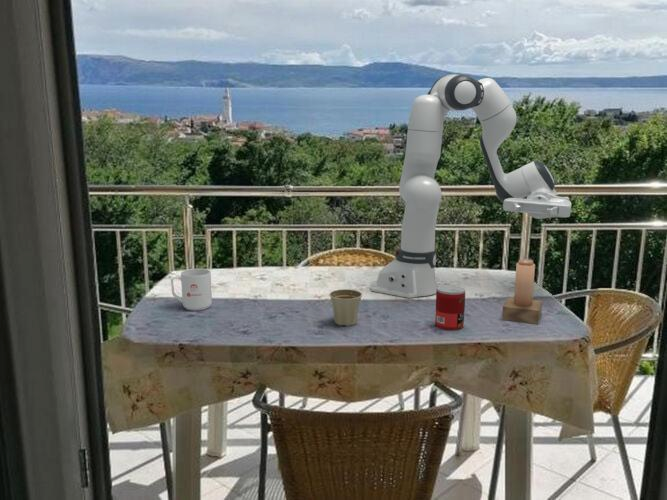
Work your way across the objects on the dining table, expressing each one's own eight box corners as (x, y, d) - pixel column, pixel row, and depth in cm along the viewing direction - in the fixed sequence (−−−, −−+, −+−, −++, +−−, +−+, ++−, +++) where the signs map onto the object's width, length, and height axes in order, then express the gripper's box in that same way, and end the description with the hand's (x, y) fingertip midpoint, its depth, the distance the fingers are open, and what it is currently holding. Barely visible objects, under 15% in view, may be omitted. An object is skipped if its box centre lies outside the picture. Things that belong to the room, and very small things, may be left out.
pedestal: (502, 319, 187) (502, 306, 186) (507, 309, 196) (507, 297, 195) (537, 324, 183) (538, 310, 183) (541, 313, 192) (542, 300, 192)
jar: (512, 305, 188) (515, 261, 185) (514, 300, 192) (517, 257, 189) (531, 307, 186) (534, 263, 183) (533, 302, 190) (536, 259, 187)
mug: (213, 302, 204) (211, 268, 201) (210, 311, 195) (209, 275, 193) (174, 303, 203) (172, 269, 200) (170, 312, 194) (168, 276, 191)
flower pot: (351, 330, 178) (351, 300, 176) (323, 324, 183) (322, 295, 181) (368, 321, 186) (368, 292, 184) (340, 315, 191) (340, 287, 189)
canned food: (463, 331, 178) (465, 293, 175) (434, 329, 179) (435, 291, 177) (463, 322, 185) (465, 285, 183) (435, 320, 187) (437, 283, 184)
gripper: (508, 192, 210) (499, 197, 198) (574, 197, 201) (569, 203, 189) (506, 211, 211) (497, 217, 199) (572, 217, 203) (567, 224, 190)
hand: (533, 210), depth 194 cm, fingers open, 8 cm apart
